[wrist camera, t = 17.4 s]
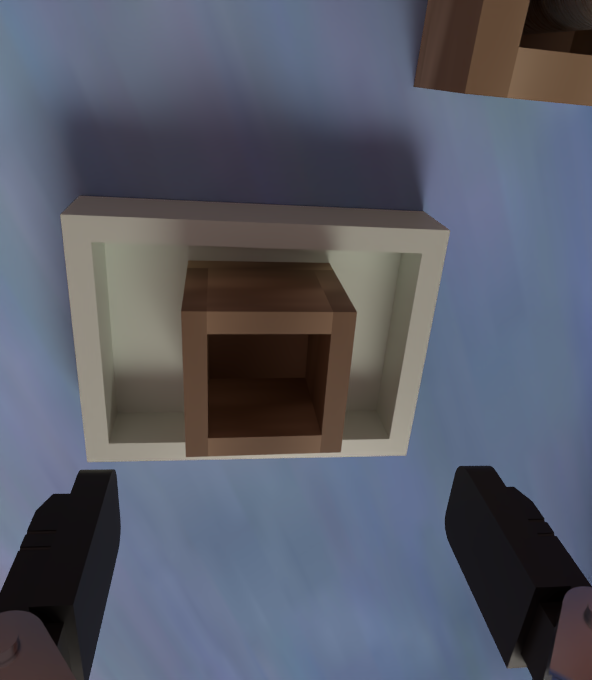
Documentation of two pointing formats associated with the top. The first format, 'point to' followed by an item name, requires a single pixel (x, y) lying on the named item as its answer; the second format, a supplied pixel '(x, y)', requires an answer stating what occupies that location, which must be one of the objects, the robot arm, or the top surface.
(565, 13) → the cylinder
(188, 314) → the walnut block
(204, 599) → the top surface
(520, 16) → the oak block
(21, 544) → the robot arm
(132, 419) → the tray
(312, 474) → the top surface
